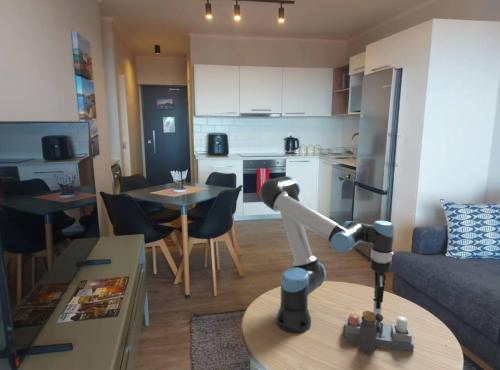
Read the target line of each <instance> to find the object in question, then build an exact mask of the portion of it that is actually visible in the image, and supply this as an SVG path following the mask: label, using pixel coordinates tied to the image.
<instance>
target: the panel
mask: <svg viewBox="0 0 500 370" xmlns="http://www.w3.org/2000/svg"><path fill="white" fill-rule="evenodd" d="M344 322H345V323H344V325H345V326H344V327H345V329H344V330H345V333H344V335H345V341H346V342H350V343H356V344H359V334H360V323H361V322H362V319H360V318H359V327H357V326H350V325H349V317H345V320H344ZM414 346H415V345H414V341H413V336H412V333H411V330H410V326H407V333H405V334H403V333H399V332H397V331H396V324H393V323H390V324H389V323H384V319H383V320H382V321H381V322H380V324H379V330H377V329H376V339H375V347H379V348H380V347H381V348H387V349H393V350H400V351H404V352H405V351H406V352H414V349H415V347H414Z"/></svg>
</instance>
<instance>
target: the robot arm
mask: <svg viewBox="0 0 500 370" xmlns="http://www.w3.org/2000/svg"><path fill="white" fill-rule="evenodd" d="M300 191H301V188H300V183H298V181H297V180H296V179H295V178H294V177H293V176H288V175H286V176H285V175H284V176H279V177H276V178H271V179H270V178H269V179H267V180H265V181H263V183H261V186H260V187H259V198H260V200H261V201H262V202H263V204H264V205H265V206H266V207H268V208H269V209H271V210H273V212H276V213H277V212H280V217H281V220H282V223H283V225H284V229H285V233H286V235H287V239H288V242H289V245H290V248H291V252H292V255H293V258H294V261H293V263H292V266H293V267H292V268H286V269H285V270H284V271H283V272H282V274H281V277H280V305H279V307H278V312H277V314H276V318H275V319H276V320H275V322H276V326H278V328H280V329H281V330H283V331H284V332H287V333H292V334H300V333H304V332H306V331H308V330H309V329H310V328H311V326H312V319H311V314H310V312H309V308H308V304H309V303H308V302H309V299H308V298H309V295H311V294H312V293H313V292H314V291H316V290H317V289H318V288H320V287H321V286H322V284H323V283H324V282H325V280H326V278H327V277H326V275H327V271H326V268H325V266H324V264H322V263H321V262H320V261H318V257H317V256H316V255H314V254H313V252H312V250H311V246H310V243H309V242H310V241H309V239H308V236H307V232H306V229H305V227H306V228H307V229H309V230H311V231H312V232H314V234H317V235H319V236H320V237H322V238H323V239H325V240H327V241H329V242H330V243H331V246H332V248H333V249H334V250H335V251H336V252H337V253H346V252H348V251H351V250H352V249H353V248H355V246H357V245H358V244H360V243H366V244H371V254H370V255H371V256H370V258H371V259H370V268H371V270H372V271H374V292H373V294H374V296H373V297H374V298H372V300H373V313H374V314H375V315H376V314H381V315H382V303H383V301H384V292H385V285H386V283H385V282H386V278H387V277H386V273H389V272H390V271H391V268H392V256H394V253H393V243H394V236H395V233H394V227H395V226H394V224H393V223H392V222H390V221H387V220H376V221H373V224H369V223H364V222H357V221H353V220H352V221H351V220H346V221H345V222H344V223H343V224H342V225H341V224H339V223H337V222H335V221H334V220H332V219H330V218H328V217H326V216H325V215H322V214H321V213H319V212H317V211H316V210H314V209H312V208H310V207H309V206H307V205H305V204H304V203H301V202H300V199H299V196H300Z"/></svg>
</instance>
